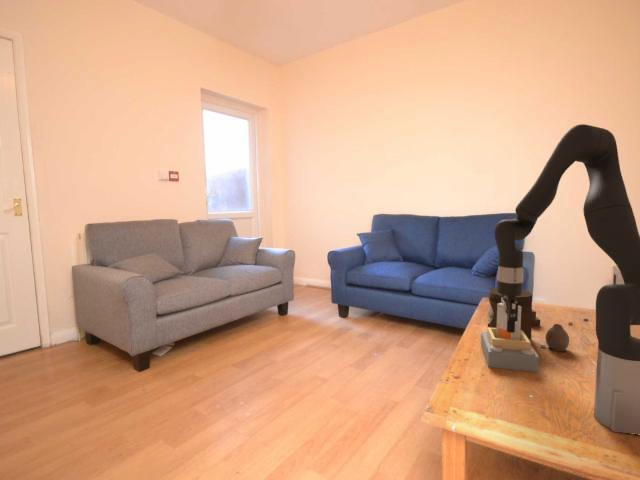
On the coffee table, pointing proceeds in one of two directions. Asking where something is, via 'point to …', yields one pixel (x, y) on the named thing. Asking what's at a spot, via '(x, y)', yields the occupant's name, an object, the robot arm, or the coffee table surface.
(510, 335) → the skincare box
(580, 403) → the coffee table surface
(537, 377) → the coffee table surface
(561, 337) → the vase
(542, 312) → the coffee table surface
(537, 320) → the stack of crates
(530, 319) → the wooden container
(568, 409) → the coffee table surface
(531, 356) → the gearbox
